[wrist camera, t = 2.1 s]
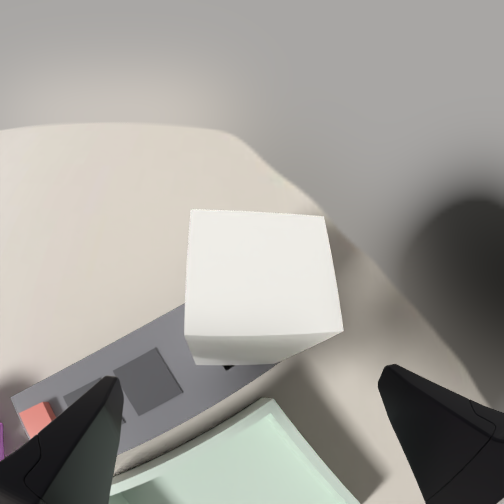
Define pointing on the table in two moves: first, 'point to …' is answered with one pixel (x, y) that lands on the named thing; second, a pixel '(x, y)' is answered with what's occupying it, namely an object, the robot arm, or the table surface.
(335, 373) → the table surface
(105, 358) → the power strip
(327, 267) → the white long block
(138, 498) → the tray
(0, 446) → the bracket
